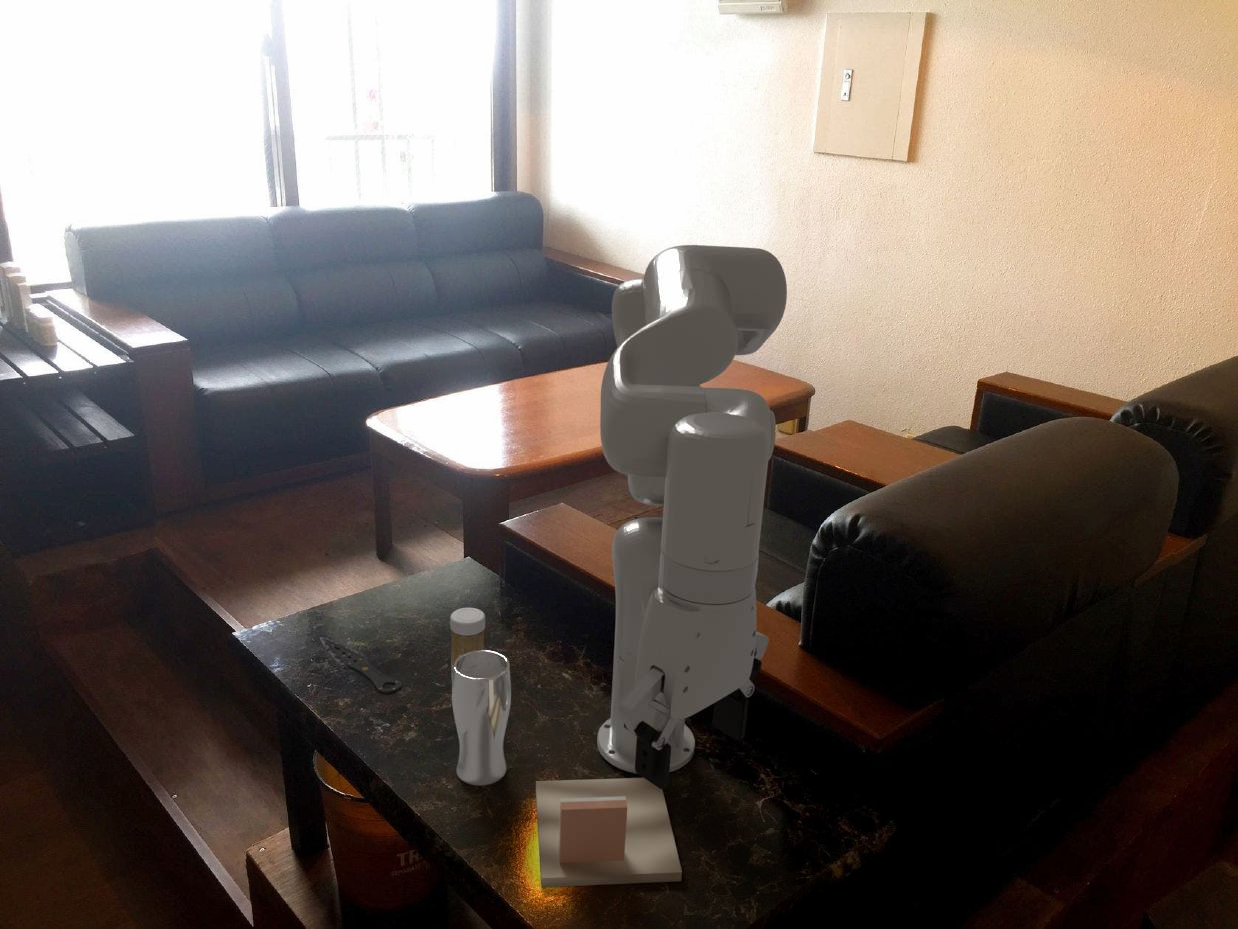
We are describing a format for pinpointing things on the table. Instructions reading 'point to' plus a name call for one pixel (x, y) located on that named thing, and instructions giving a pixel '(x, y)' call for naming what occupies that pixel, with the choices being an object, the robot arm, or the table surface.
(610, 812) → the tile
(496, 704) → the beer glass
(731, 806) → the table surface
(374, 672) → the throwing knife
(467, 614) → the sprinkles bottle
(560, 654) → the table surface
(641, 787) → the board
